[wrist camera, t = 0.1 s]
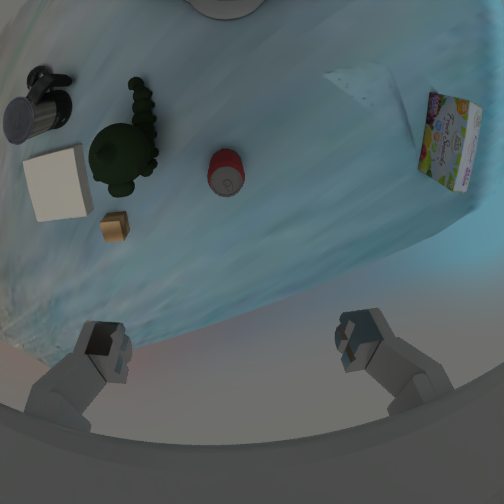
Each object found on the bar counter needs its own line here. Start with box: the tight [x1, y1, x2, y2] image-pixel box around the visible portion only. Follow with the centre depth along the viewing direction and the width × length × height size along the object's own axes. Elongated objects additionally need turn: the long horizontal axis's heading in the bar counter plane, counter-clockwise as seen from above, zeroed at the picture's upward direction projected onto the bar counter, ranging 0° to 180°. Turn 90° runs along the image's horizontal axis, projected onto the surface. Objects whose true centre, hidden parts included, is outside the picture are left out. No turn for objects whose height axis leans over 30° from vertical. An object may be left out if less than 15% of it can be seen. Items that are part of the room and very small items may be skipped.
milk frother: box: [3, 66, 72, 145], centre depth 34 cm, size 14×16×15 cm
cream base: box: [23, 144, 94, 222], centre depth 50 cm, size 16×16×4 cm
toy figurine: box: [88, 77, 159, 198], centre depth 37 cm, size 9×19×25 cm, turn 1°
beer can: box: [207, 149, 245, 197], centre depth 50 cm, size 7×7×12 cm
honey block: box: [100, 211, 130, 242], centre depth 57 cm, size 5×5×5 cm
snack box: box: [418, 93, 482, 193], centre depth 47 cm, size 21×6×15 cm, turn 179°
